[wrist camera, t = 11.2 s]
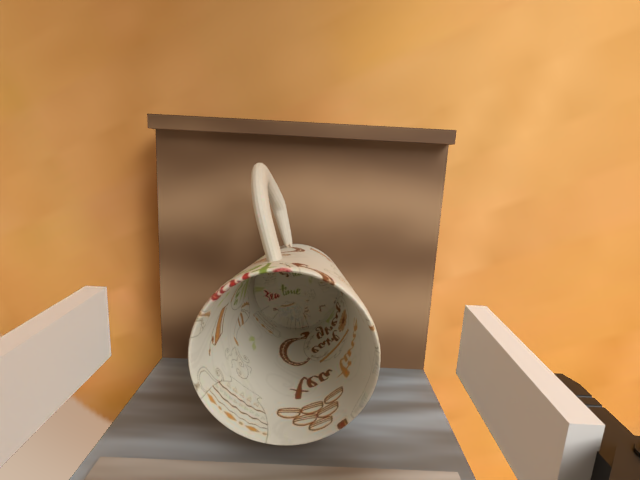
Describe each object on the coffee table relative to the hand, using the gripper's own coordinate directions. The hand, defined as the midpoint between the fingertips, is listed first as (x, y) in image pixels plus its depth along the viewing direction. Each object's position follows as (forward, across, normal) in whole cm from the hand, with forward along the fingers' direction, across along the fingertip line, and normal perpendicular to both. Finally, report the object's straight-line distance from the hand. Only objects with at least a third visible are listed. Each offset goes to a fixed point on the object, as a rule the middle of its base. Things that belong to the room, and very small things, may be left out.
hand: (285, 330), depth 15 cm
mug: (+12, -1, -1) cm, 12 cm away
